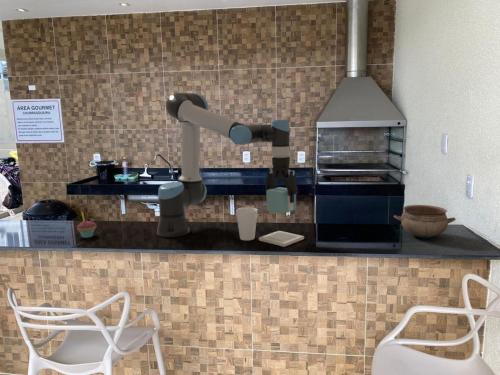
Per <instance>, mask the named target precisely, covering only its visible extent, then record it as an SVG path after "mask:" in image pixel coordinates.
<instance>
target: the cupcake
mask: <svg viewBox="0 0 500 375" xmlns="http://www.w3.org/2000/svg"><path fill="white" fill-rule="evenodd" d="M81 217H82V222H79V223H78V224H77V225H76V230H77V231H78V232H79V233H80V236H81V237H82V238H84V239H85V238H91V237H93V235H94V232H95V229H97V226H98V225H97V224H96V223H95V221H91V220H86V219H85V216H84V212H81Z"/></svg>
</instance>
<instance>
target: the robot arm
mask: <svg viewBox="0 0 500 375" xmlns="http://www.w3.org/2000/svg"><path fill="white" fill-rule="evenodd" d="M165 111H166V113H167V114H168V115H169V116H170V117H172V118H173V119H175V120H178V123H179V124H180V125H181V175H180V176H179V177H178V178H177V179H178V181H171V182H165V183H162V185H160V186H159V187H158V189H157V190H158V193H157V196H158V207H159V220H158V222H157V228H156V235H157V236H159V237H162V238H175V237H176V238H178V237H182V236H186V235H188V234H189V233H190V226H189V223H188V220H187V218H186V212H185V209H186V208H189V207H192V206H196V205H198V204H201V203H202V202H203V201H204V200H205V198H206V196H207V192H208V191H207V190H208V189H207V187H206V185H205V183H204V182H203V177H202V176H201V175H200V149H201V147H200V146H201V141H200V140H201V128H203V129H205V130H208V131H210V132H212V133H215V134H218V135H220V136H222V137H224V138H228V139H229V140H230V141H231V142H232V143H233V144H234V145H240V146H243V145H244V146H245V145H248V144H249V145H250V144H256V143H271V156H272V157H271V165H272V167H271V168H267V169H266V174H267V175H266V180H265V188H264V191H266V190H269V189H274V188H276V186H277V184H278V181H279V179H280V180H282V181H283V183H284V184H285V188H287V190H288V193H289V195H288V211H290V210H293V202H294V195H295V194H296V195H298V194H299V188H298V185H297V178H296V172H297V171H296V170H295V169H294V170H292V169H291V168H290V166H291V158H290V155H291V154H290V152H291V151H290V150H291V148H290V144H291V142H290V135H291V134H290V133H291V128H290V121H289V120H288V119H272V120H271V123H270V124H248V125H247V124H243V123H241V122H238V121H236V120H233V119H230V118H228V117H225V116H223V115H221V114H218V113H215V112H213V111H211V110H209V104H208V100H206V98H205V97H204V96H203V95H201V94H198V93H194V92H193V93H192V92H191V93H189V92H175V93H173V94H170V95H169V96H168V97H167V100H166V101H165ZM290 212H291V211H290Z"/></svg>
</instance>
